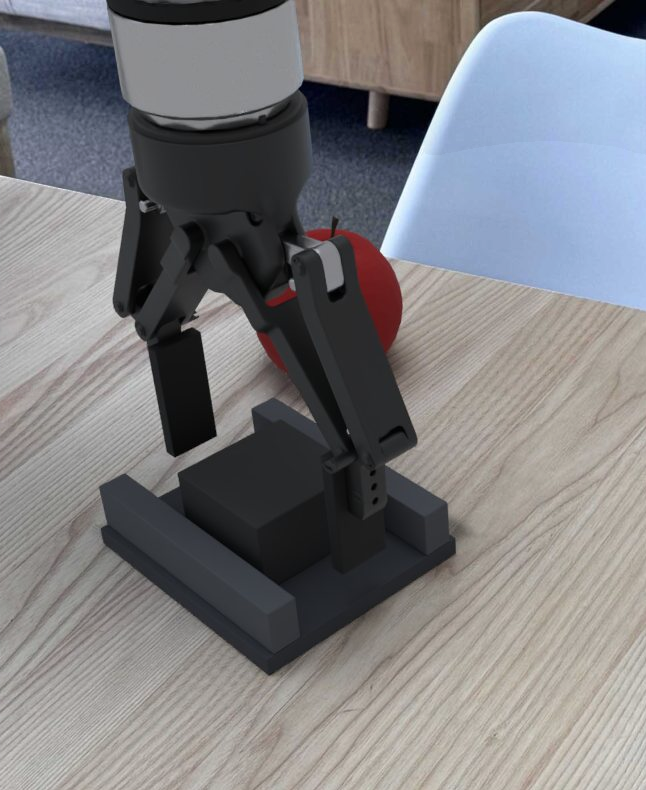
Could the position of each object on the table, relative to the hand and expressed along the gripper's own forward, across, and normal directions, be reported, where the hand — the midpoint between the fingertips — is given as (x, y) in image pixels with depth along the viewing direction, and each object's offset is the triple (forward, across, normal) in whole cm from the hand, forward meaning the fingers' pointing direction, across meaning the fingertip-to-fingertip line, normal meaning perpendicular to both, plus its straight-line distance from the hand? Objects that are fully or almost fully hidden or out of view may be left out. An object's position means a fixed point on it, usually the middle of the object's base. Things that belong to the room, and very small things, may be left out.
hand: (271, 498), depth 70 cm
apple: (+3, +11, -13) cm, 18 cm away
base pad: (+3, 0, 0) cm, 3 cm away
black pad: (+2, 0, 0) cm, 2 cm away
